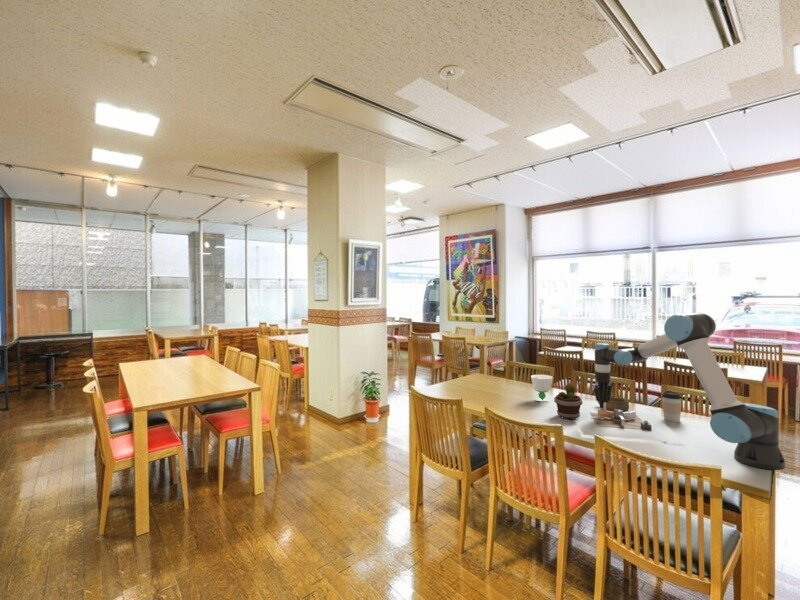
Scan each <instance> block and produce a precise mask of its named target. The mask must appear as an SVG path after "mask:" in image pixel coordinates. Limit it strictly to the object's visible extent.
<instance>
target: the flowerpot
mask: <svg viewBox="0 0 800 600" xmlns="http://www.w3.org/2000/svg"><path fill="white" fill-rule="evenodd" d="M576 392H577V391H576V386H575V384H573V383H572V382H568V383H566V384H565V386H564V391H563V390H561V391H559V392H558V394H556V395H555V397H554V398H553V399H554V403H556V408H557V410H556V412H557V415H558V416H559V417H560V418H561V417H563V418H562V419H564V418H568V419H567V420H569V419H571V420H576V418H578V417H580V416H581V412H580V409H581V406H582V405H583V400H582V398H581V397H580V396H579V395H576Z"/></svg>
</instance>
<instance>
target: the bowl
mask: <svg viewBox="0 0 800 600" xmlns="http://www.w3.org/2000/svg"><path fill="white" fill-rule="evenodd" d="M608 401H609V402H607V408H606V410H607V411H612V412H614V409H619V410H623V412H628V411H629V409H630V405H629V404H630V400H628V399H627V398H623V397H621V398H620V397H613V396H610V400H608ZM597 404H598V405H599V406H600V402H599V401H597Z"/></svg>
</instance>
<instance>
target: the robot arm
mask: <svg viewBox="0 0 800 600" xmlns="http://www.w3.org/2000/svg"><path fill="white" fill-rule="evenodd" d="M716 327H717V324H716V322H715V320H714V319H713V318H712V317H711V316H710V315H708V314H706V313H704V312H703V313H702V312H692V313H687V312H686V313H684V312H683V313H682V312H681V313H676V314H673V315H671V316H669V317H668V318H667V319H666V321H665V323H664V326H663V328H664V333H663V334H662V335H659V336H657V337H654V338H652V339H651V340H648V341H646V342H644V343H641V344H639V345H637V346H634V347H630V348H619V349H618V348H611V345H610V344H609V343H607V342H598V343H597V342H596V343H595V344H594V370H595V371H594V377H595V379H596V380H595V383H594V384H592V385H591V386H592V388H593V390H594V395H595V400H596V402H598V401H599V402H600V405H599V409H602V410H606V408H607V402H609V401H608V400H610V396H611V395H612V391H613V390H612V389H613V386H614V383H613V382H611V380H610V379H611V364H618V365H620V366H628V365H630V364H631V363H642V362H646V361H648V359H649V358H651V357H653V356H656V355H659V354H661V353H664V352H666V351H669V350H672V349H674V348H676V347H678V348H679V349H681V350H684V352H685V355H686V356H687V358H688V361H689V362H690V365H691V366H692V368H693V370H694V372H695V374H696V377H697V379H698V380H699V382H700V384H701V386H702V388H703V390H704V392H705V395H706V396H707V398H708V401H709V402H710V405H711V406H710V408H709V412H710V414H711V416H710V421H709V425H710V428H711V431H712V432H713V433H714V434H715V435H716V437H718V438H719V439H721V440H723V441H725V442H727V443H731V444H737V445H736V447H735V449H734V451H733V452H734V453H733V454H734V455H733V457H734V459H735V460H737V461H738V462H740V463H741V464H744V465H747V466H751V467H755V468H758V469H762V470H763V469H764V470H769V471H780V470H784V469H786V460H785V458H784V456H783V453H782V451H781V449H780V448H781V447H780V445H779V443H780V440H779V439H780V436H779V435H780V433H779V432H780V425H779V424H780V422H779V421H780V418H779V417H780V416H779V411H778V410H777V409H776V408H773V407H771V406H765V405H763V404H762V405H761V404H756V403H749V402H742V401H740V400H738V398H737V396H736V394H735V393H734V391H733V389H732V387H731V385H730V383H729V382H728V380H727V378H726V376H725V374H724V373H723V371H722V368H721V366H720V364H719V362H718V361H717V358H716V357H715V355H714V353H713V351H712V349H711V348H710V346H709V341H710V340H711V339H710V337H711V336H712V335H713V334H714V333H715V331H716ZM611 397H612V396H611Z"/></svg>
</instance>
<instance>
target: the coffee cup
mask: <svg viewBox="0 0 800 600" xmlns="http://www.w3.org/2000/svg"><path fill="white" fill-rule="evenodd" d="M661 399H662V400H661V403H662V412H663V419H664V420H665V421H668V422H673V423H676V422H677V423H679V422H681V414H682V412H681V411H682V399H683V397H682V395H680V393H678V392H675V391H671V390H667V391H664V392H663V393H661Z"/></svg>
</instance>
